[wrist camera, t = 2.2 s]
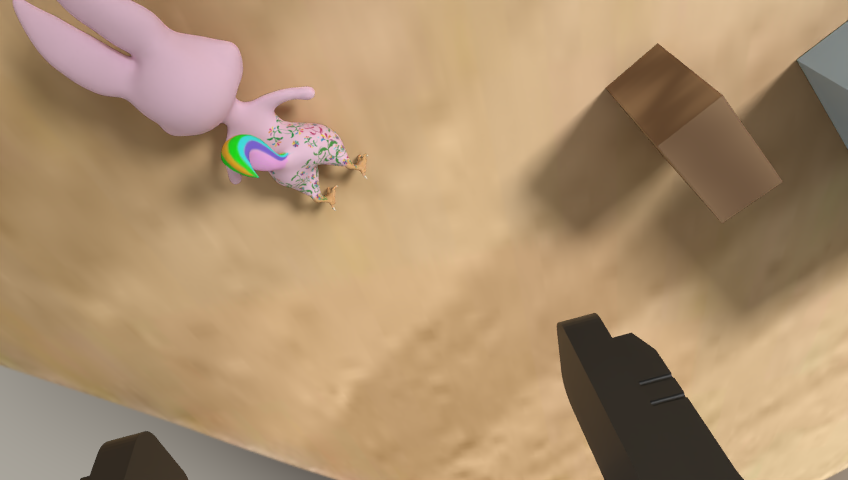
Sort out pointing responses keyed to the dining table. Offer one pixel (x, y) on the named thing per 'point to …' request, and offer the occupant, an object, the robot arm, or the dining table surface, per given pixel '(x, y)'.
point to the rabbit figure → (186, 89)
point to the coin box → (830, 76)
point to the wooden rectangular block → (695, 132)
